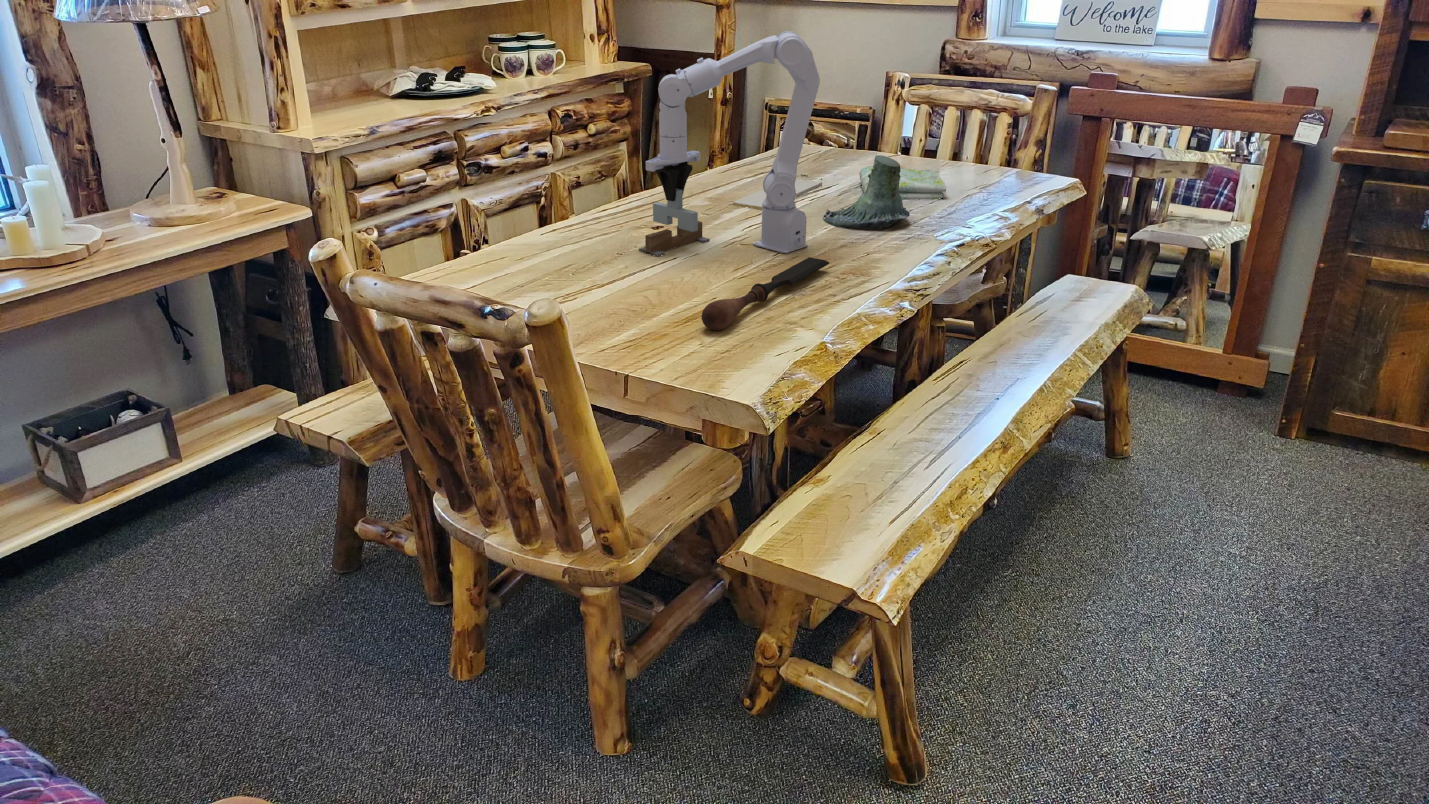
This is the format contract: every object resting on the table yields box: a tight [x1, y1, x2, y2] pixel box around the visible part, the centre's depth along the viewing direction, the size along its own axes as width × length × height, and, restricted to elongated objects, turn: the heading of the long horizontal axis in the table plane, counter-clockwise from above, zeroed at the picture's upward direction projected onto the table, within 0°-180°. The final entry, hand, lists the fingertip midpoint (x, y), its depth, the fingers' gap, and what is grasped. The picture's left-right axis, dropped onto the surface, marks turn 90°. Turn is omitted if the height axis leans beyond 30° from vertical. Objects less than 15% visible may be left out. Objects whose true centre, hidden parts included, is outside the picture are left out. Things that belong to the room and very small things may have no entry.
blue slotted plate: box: [652, 188, 699, 232], centre depth 220 cm, size 12×2×8 cm, turn 47°
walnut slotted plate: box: [638, 220, 711, 258], centre depth 223 cm, size 6×16×4 cm, turn 137°
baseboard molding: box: [728, 174, 823, 211], centre depth 265 cm, size 31×3×12 cm
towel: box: [859, 165, 947, 200], centre depth 269 cm, size 18×21×5 cm
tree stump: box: [823, 154, 911, 230], centre depth 240 cm, size 18×20×18 cm
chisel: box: [701, 256, 830, 331], centre depth 192 cm, size 5×43×5 cm, turn 148°
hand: (674, 199), depth 219 cm, fingers closed on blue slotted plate, 2 cm apart
